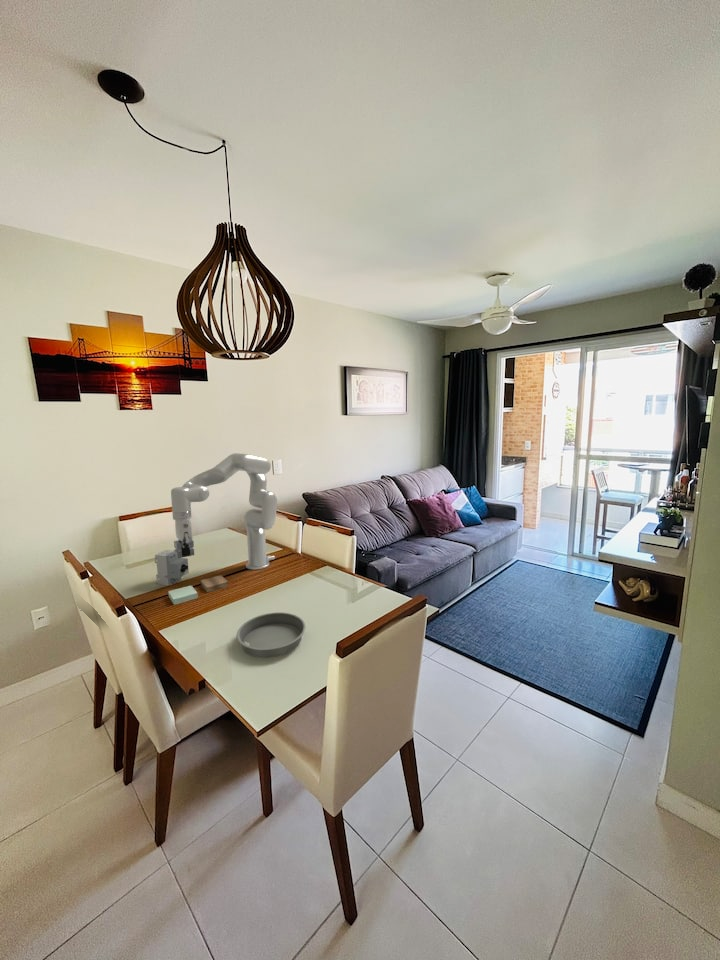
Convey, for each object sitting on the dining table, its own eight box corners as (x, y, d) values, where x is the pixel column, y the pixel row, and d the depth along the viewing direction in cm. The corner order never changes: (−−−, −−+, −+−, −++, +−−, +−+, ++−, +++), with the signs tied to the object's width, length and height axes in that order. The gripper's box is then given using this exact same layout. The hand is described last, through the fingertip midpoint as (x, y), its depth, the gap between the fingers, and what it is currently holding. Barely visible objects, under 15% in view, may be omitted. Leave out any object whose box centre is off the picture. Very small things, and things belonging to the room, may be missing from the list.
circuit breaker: (182, 586, 184) (180, 557, 181) (156, 583, 186) (154, 554, 184) (192, 580, 191) (190, 551, 188) (167, 577, 194) (164, 549, 191)
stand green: (191, 590, 179) (191, 585, 179) (197, 598, 172) (197, 592, 171) (168, 596, 173) (168, 591, 173) (174, 604, 166) (173, 599, 165)
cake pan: (274, 616, 157) (273, 605, 156) (319, 635, 143) (319, 624, 142) (223, 645, 137) (222, 633, 136) (269, 670, 123) (269, 658, 122)
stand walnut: (221, 579, 191) (221, 575, 191) (228, 586, 183) (228, 581, 183) (200, 585, 185) (200, 580, 184) (207, 592, 177) (206, 587, 177)
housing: (191, 552, 175) (190, 538, 174) (194, 555, 171) (193, 541, 170) (174, 555, 171) (173, 541, 170) (177, 558, 167) (176, 544, 166)
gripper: (196, 517, 164) (198, 557, 167) (185, 510, 177) (188, 547, 180) (177, 520, 159) (180, 561, 162) (168, 512, 172) (170, 550, 175)
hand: (184, 553), depth 171 cm, fingers closed on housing, 5 cm apart
